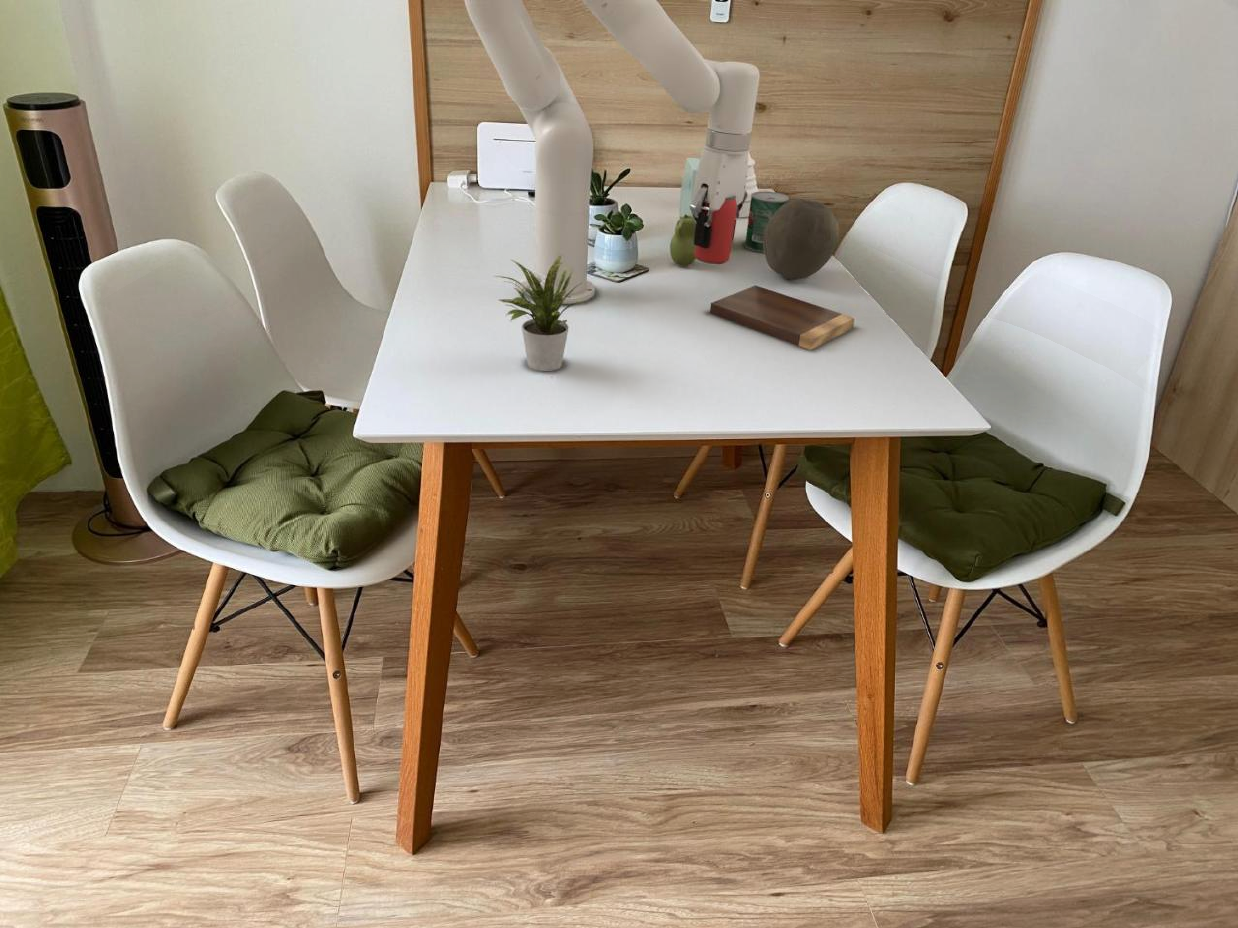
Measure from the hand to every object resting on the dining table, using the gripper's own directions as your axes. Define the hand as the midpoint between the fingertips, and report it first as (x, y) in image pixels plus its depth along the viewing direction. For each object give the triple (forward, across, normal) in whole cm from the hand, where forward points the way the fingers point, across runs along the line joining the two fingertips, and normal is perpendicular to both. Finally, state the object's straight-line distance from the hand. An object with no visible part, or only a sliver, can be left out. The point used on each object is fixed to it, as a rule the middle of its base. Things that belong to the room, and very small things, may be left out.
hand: (713, 242), depth 165 cm
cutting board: (+10, 0, +17) cm, 19 cm away
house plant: (+11, +43, +1) cm, 45 cm away
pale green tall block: (+10, -22, -18) cm, 30 cm away
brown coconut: (+10, -22, +6) cm, 24 cm away
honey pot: (+10, -51, -31) cm, 60 cm away
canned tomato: (+10, -33, -9) cm, 35 cm away
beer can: (+3, 0, 0) cm, 3 cm away
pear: (+10, -10, -13) cm, 19 cm away
